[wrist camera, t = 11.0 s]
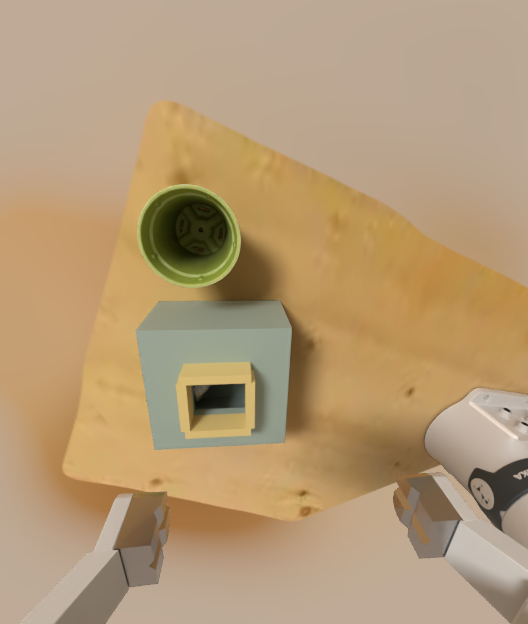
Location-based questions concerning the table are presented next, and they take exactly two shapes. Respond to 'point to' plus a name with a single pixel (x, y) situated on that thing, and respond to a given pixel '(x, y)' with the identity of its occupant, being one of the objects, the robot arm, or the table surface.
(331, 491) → the table surface
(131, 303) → the table surface
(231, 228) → the plant pot
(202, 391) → the cylinder
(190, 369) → the box with square opening
